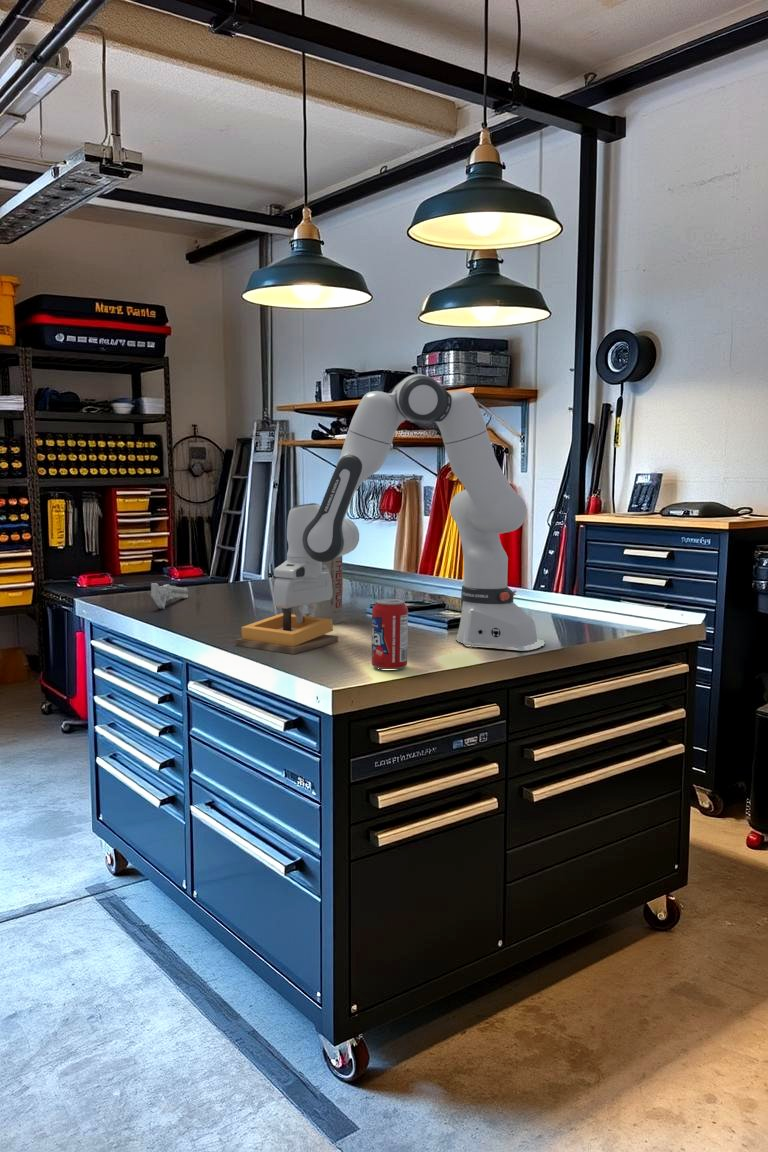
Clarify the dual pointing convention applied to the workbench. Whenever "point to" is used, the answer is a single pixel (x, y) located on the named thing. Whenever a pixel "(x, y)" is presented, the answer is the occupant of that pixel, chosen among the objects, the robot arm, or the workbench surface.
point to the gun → (166, 593)
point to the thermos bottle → (334, 605)
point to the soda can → (389, 634)
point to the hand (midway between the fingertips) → (304, 621)
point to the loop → (270, 634)
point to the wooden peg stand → (299, 648)
